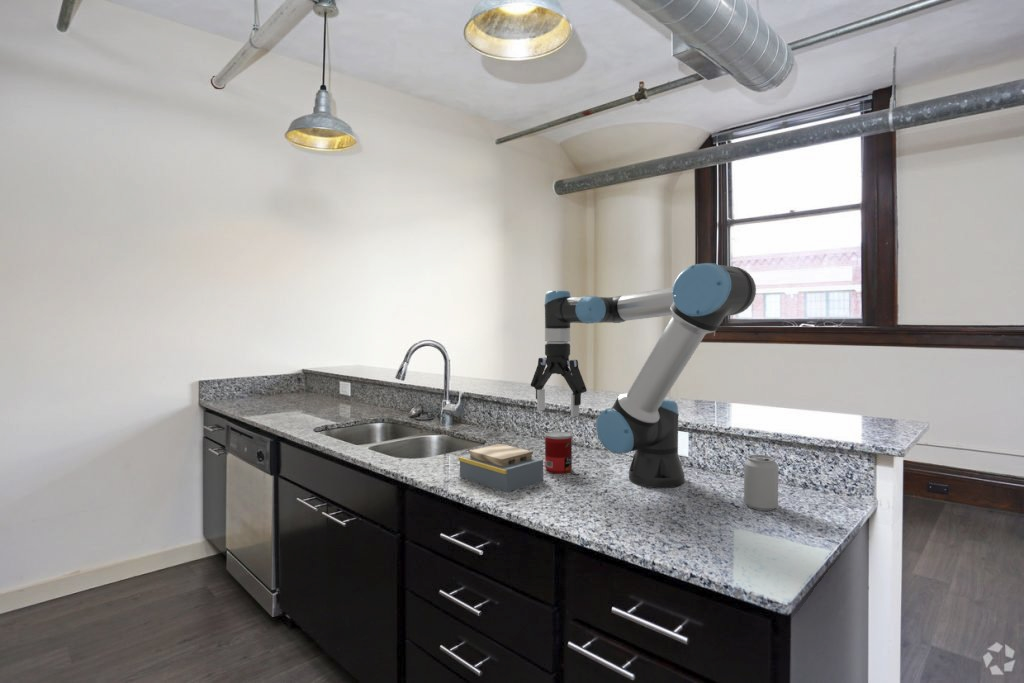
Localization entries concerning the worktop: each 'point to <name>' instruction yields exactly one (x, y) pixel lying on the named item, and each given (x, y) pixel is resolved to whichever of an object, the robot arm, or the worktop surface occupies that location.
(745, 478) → the can
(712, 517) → the worktop surface
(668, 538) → the worktop surface
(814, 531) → the worktop surface
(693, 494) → the worktop surface
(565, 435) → the canned food
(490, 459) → the pallet
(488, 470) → the dock
